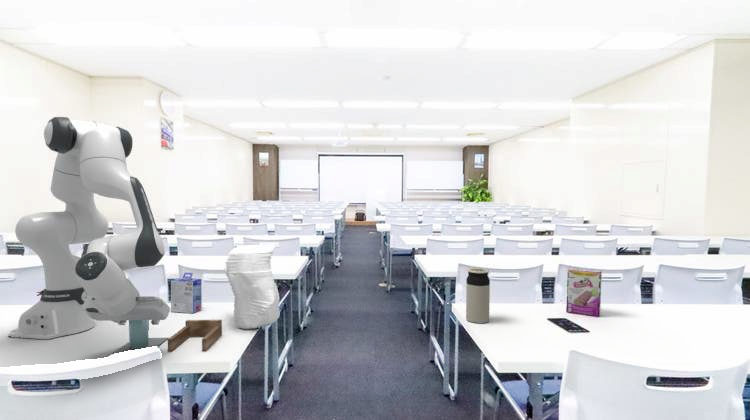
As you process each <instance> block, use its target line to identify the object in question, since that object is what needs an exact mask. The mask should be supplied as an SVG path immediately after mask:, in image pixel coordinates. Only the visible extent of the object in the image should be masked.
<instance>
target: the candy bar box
mask: <svg viewBox="0 0 750 420" xmlns="http://www.w3.org/2000/svg"><path fill="white" fill-rule="evenodd" d="M602 273H603V272H602V271H601V270H592V269H583V268H573V267H569V268H568V269H567V282H566V284H567V285H566V309H565V310H566V312H565V313H570V314H574V315H575V314H576V315H583V316H589V317H596V318H597V317H598V318H599V317H600V315H601V303H602V302H601V301H602V300H601V299H602V278H603V277H602V275H603V274H602Z"/></svg>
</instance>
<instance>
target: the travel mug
mask: <svg viewBox="0 0 750 420" xmlns="http://www.w3.org/2000/svg"><path fill="white" fill-rule="evenodd" d="M466 271H467V274H468V275H467V277H466V285H465V289H466V292H465V293H466V295H465V301H466V302H465V303H466V304H465V306H466V308H465V319H466V320H467V321H468V322H470V323H473V324H485V323H488V322H489V321H490V298H491V297H490V291H491V290H490V287H491V283H490V280H491V279H490V278H489V273H490V270H489V269H487V268H482V267H481V268H480V267H471V268H468V269H467V270H466Z"/></svg>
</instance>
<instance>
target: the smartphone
mask: <svg viewBox="0 0 750 420" xmlns="http://www.w3.org/2000/svg"><path fill="white" fill-rule="evenodd" d="M546 320H547V321H549V322H550V323H552V324H554V325H555V326H557V327H558V328H560V329H562V330H563V331H565V332H566V333H568V334H586V333H587V334H589V333H591V331H590V330H588V329H587V328H585V327H583V326H581V325H579V324H578V323H575V322H574V321H572V320H570V319H568V318H565V317H548V318H546Z"/></svg>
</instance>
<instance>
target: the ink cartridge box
mask: <svg viewBox="0 0 750 420" xmlns="http://www.w3.org/2000/svg"><path fill="white" fill-rule="evenodd" d="M193 274H194V273H193V272H185V271H184V273H183V275H182V277H179V278H175V279H172V280H170V312H171V313H184V314H186V313H187V314H195V313H197V312H200V311H202V310H201V309H203V307H202V306H203V304H202V303H203V302H202V296H203V295H202V278H192V277H193ZM188 275H189V276H188ZM199 310H200V311H199Z"/></svg>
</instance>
